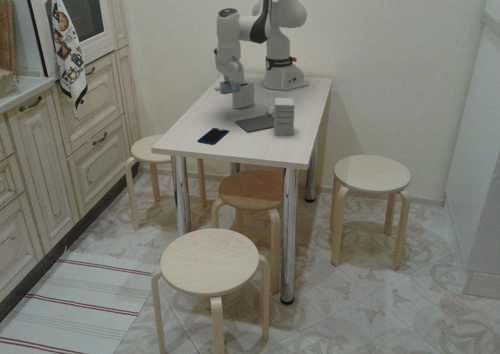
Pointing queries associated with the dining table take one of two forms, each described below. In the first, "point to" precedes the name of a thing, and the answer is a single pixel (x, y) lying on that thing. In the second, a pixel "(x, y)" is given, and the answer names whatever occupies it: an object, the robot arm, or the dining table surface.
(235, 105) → the photo printer
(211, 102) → the dining table surface
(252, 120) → the rubber mat
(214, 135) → the cell phone
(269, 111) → the white connector
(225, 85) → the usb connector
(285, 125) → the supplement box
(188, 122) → the dining table surface
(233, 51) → the robot arm
